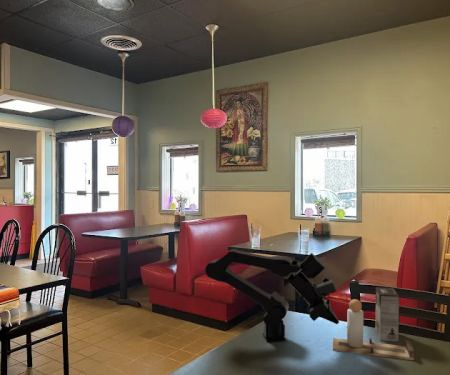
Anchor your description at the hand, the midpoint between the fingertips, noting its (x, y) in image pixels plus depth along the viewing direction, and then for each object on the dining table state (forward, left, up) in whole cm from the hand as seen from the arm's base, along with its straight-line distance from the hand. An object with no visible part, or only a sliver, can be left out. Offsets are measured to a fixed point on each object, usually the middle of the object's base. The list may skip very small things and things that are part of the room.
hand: (338, 323), depth 128 cm
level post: (+5, -2, -6) cm, 8 cm away
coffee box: (+20, +5, -8) cm, 22 cm away
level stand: (+9, -4, -8) cm, 13 cm away
